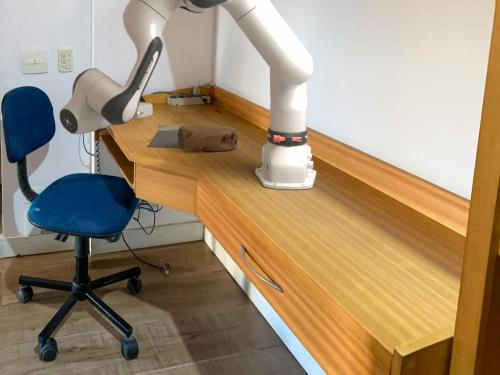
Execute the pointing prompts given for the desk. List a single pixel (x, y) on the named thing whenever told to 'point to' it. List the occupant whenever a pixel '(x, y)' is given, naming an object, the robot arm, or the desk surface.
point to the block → (207, 137)
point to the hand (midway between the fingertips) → (137, 103)
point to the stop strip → (169, 127)
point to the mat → (165, 140)
